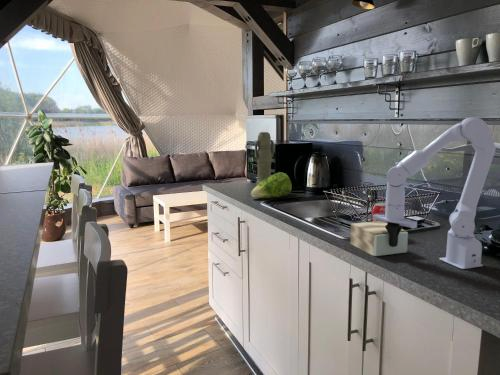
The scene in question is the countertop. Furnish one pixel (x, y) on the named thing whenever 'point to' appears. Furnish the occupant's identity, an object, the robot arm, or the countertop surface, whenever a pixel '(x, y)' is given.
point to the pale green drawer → (385, 249)
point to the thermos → (264, 155)
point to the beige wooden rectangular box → (367, 234)
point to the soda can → (379, 209)
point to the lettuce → (273, 186)
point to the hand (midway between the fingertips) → (393, 246)
